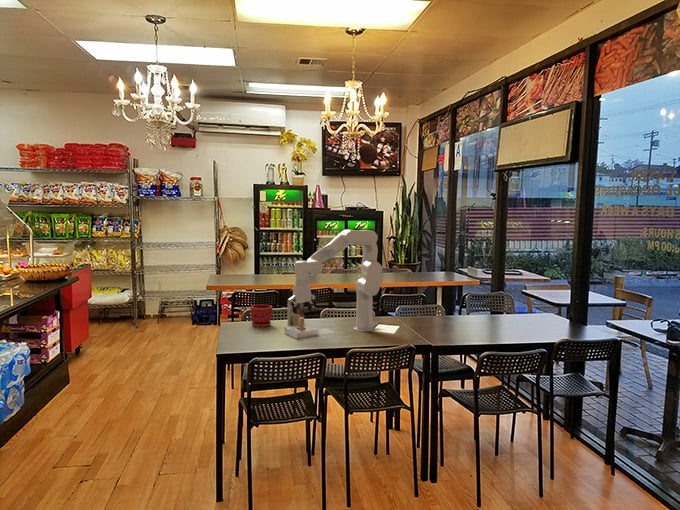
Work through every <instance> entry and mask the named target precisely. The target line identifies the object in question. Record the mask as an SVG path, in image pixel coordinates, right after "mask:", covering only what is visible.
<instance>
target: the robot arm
mask: <svg viewBox="0 0 680 510" xmlns="http://www.w3.org/2000/svg"><path fill="white" fill-rule="evenodd" d="M378 237H379V236H378V234H377V232H375V231H374V230H369V229H360V230H357V229H349V228H348V229H347V228H346V229H343V230H342V231H341V232H339V233H338V235H336V236H335V237H334V238H333V239H332V240H331V241H329V243H328V244H326V245H324V246H323V247H321V248H320V249H318V250H317V251H315V252H314V253H313V254H312V255H311V256H310V257H309V258H308V259H307V260H296V261H295V262H294V267H295V268H294V272H295V273H294V276H295V277H294V279H295V280H294V281H295V283H294V285H293V289H292V296H291V297H289V298H288V299H287V301H288V300H289V302H290V304H291V305H292V306H293V313H295V314H297V307H296V305H297V304H298V303H303V302H304V303H307V311H309V312H312V309H313V308H312V307H313V306H312V305H313V303H314V302H315V299H316V295H315V294H312V291H311V285H310V282H311V279H310V278H309V277H310V276H309V274H314V275H315V274H316V275H317V274H320V273H322V271H323V269H324V265H323V263H324V262H325V261H327V260H329V259H331V258H335V257H337V256H338V255H340V254H341V253H342V252H343V251H344V250H345V249H346V248H347V247H348V246H349V245H352V246H362V248H363V251H362V252H363V255H362V260H361V264H360V271H361V273H362V274H363V275H365V276H362V277H360V278H358V279H357V280H356V282H355V293H356V309H355V310H356V312H355V314H356V317H355V325H354V326H353V328H352V329H353V330H354V331H357V332H364V333H368V332H369V333H370V332H373V331H374V330H375V327H374V326H378V324H379V322H378V321H373V302H374V301H373V296H376V295H377V294H378V292H379V291H380V286H381V283H382V275H383V266H382V265H381V264H380V262H378V260H377V259H378V251H379V250H378V249H379V248H378V245H377V242H378V239H379V238H378ZM292 300H293V302H292Z"/></svg>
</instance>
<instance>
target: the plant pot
mask: <svg viewBox="0 0 680 510" xmlns="http://www.w3.org/2000/svg"><path fill="white" fill-rule="evenodd" d="M272 316H273V306H272V305H269V304H254V305H250V317H251V320H252V321H251V324H252V326H254V327H256V328H265V327H268V326H270V325H271V324H272V322H271V319H272Z"/></svg>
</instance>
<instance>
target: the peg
mask: <svg viewBox="0 0 680 510" xmlns="http://www.w3.org/2000/svg"><path fill="white" fill-rule="evenodd" d="M304 324H305V317H304V318H299V330H302V329H304Z"/></svg>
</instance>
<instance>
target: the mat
mask: <svg viewBox="0 0 680 510" xmlns="http://www.w3.org/2000/svg"><path fill="white" fill-rule="evenodd" d="M333 333H336V331H333V330H331V329H329V328H327V327H326V328H321V329H318V335H321V336H322V335H323V336H325V335H329V334H333Z"/></svg>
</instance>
